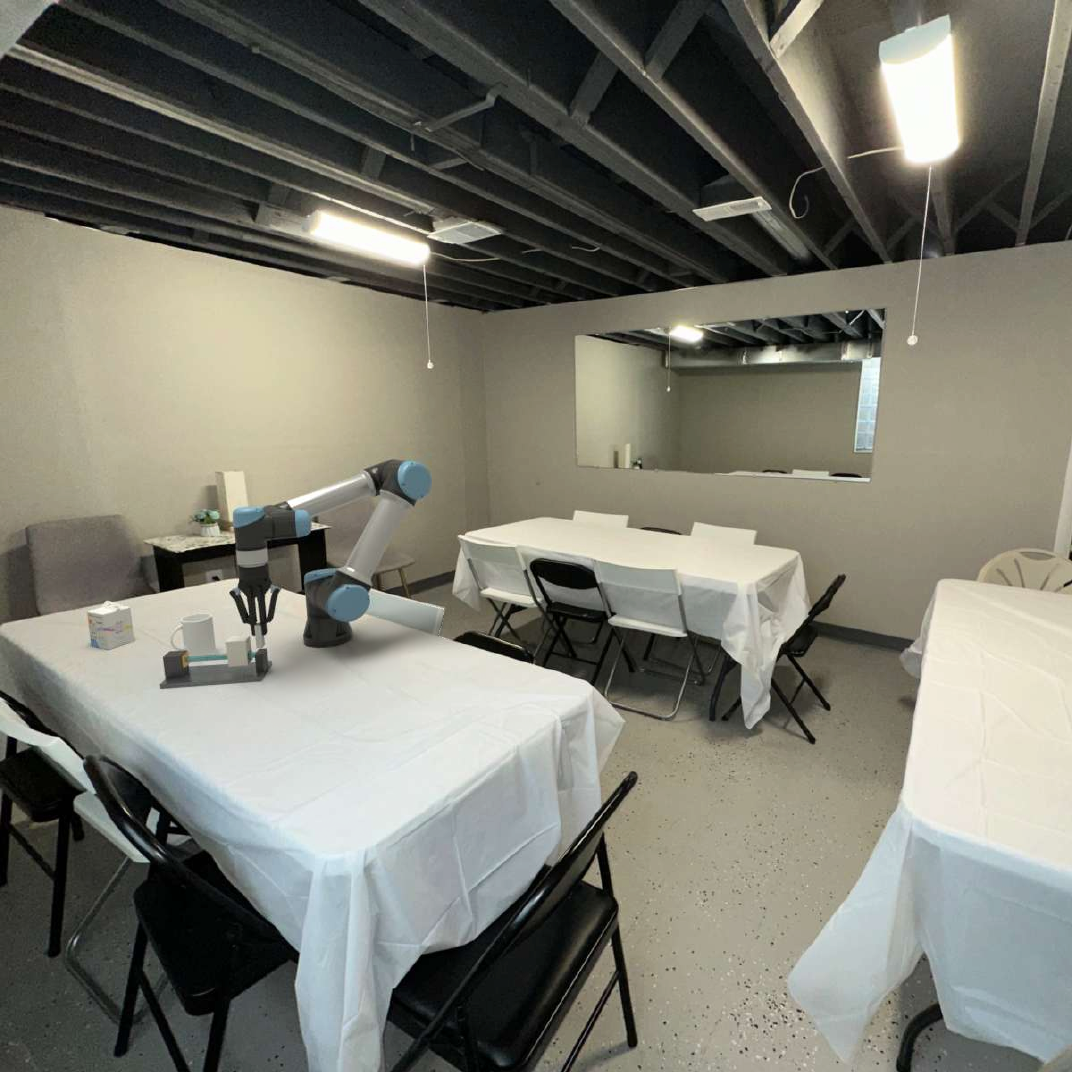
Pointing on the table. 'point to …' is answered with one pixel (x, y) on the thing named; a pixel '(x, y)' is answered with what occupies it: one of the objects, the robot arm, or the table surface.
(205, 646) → the mug
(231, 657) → the sleeve
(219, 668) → the glowing rod on plate
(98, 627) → the ink box
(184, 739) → the table surface
